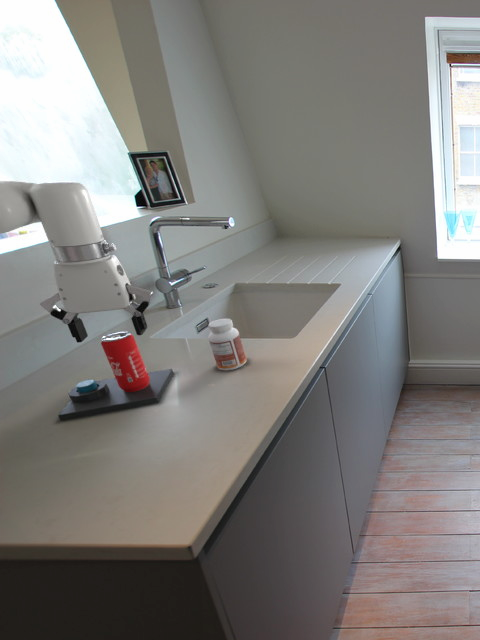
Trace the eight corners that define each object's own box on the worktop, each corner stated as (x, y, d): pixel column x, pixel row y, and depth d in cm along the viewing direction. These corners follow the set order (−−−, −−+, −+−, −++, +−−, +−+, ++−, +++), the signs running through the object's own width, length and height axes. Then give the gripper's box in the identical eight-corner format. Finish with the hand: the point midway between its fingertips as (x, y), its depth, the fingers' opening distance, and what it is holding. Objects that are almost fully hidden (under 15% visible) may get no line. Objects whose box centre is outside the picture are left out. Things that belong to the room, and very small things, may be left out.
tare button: (76, 395, 89) (73, 388, 88) (82, 387, 92) (79, 381, 91) (94, 391, 90) (91, 385, 89) (100, 384, 93) (97, 378, 92)
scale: (60, 421, 85) (54, 408, 84) (88, 388, 96) (82, 376, 95) (158, 403, 91) (153, 390, 90) (174, 373, 102) (170, 362, 101)
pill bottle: (237, 356, 109) (225, 315, 105) (252, 362, 106) (241, 320, 102) (212, 367, 104) (198, 324, 100) (227, 373, 102) (214, 330, 97)
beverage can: (150, 389, 93) (129, 337, 88) (119, 396, 91) (96, 343, 86) (152, 378, 97) (133, 328, 92) (123, 384, 95) (102, 334, 90)
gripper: (144, 244, 88) (168, 323, 95) (32, 251, 82) (66, 335, 89) (131, 253, 82) (159, 337, 89) (9, 261, 76) (48, 350, 83)
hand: (112, 336), depth 89 cm, fingers open, 9 cm apart
